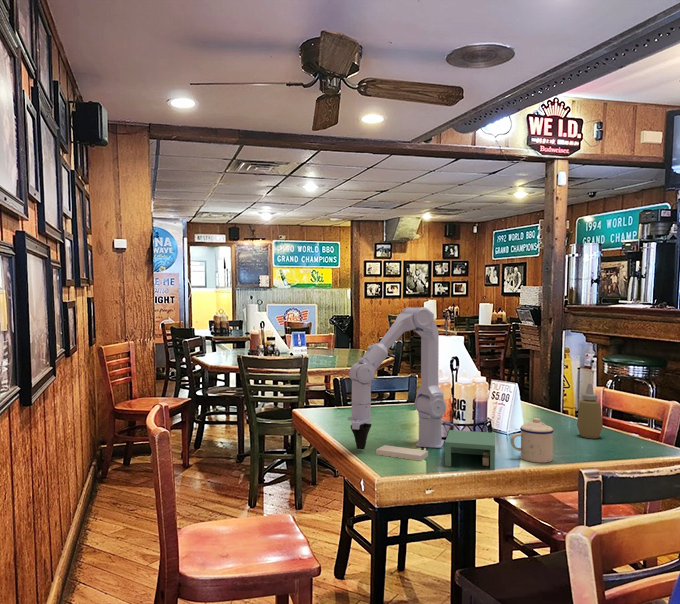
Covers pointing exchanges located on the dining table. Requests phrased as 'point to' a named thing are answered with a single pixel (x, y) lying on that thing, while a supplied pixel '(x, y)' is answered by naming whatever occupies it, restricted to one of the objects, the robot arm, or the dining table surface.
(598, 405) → the squeeze bottle
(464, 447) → the shelf
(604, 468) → the dining table surface
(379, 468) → the dining table surface
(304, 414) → the dining table surface
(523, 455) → the teacup with lid
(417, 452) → the beige rectangular block
